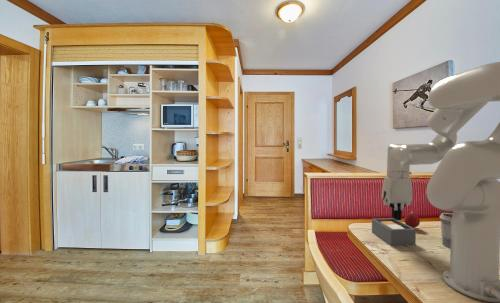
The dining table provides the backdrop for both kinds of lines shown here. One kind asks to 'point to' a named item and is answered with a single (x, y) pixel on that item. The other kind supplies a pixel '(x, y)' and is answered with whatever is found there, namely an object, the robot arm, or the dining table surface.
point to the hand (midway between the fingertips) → (396, 218)
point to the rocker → (391, 225)
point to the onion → (411, 220)
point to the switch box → (394, 232)
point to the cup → (446, 228)
